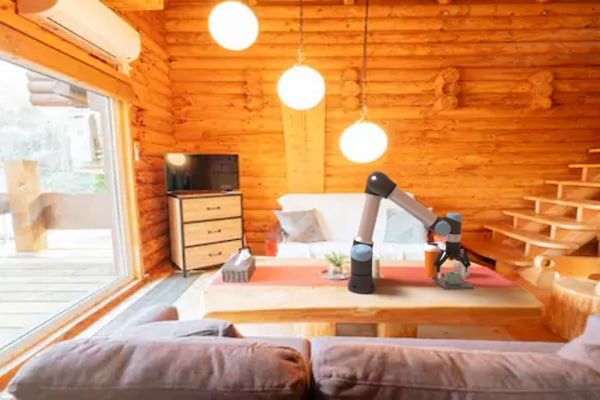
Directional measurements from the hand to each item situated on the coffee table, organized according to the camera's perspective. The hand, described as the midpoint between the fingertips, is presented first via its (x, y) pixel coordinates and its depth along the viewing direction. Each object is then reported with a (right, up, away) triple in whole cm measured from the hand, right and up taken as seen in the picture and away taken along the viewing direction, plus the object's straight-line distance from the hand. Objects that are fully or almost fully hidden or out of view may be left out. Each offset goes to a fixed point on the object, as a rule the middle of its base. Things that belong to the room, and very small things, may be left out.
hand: (451, 278), depth 183 cm
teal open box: (0, -2, 0) cm, 2 cm away
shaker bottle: (-5, -2, +16) cm, 17 cm away
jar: (+13, -2, +15) cm, 20 cm away
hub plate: (0, -4, 0) cm, 4 cm away
